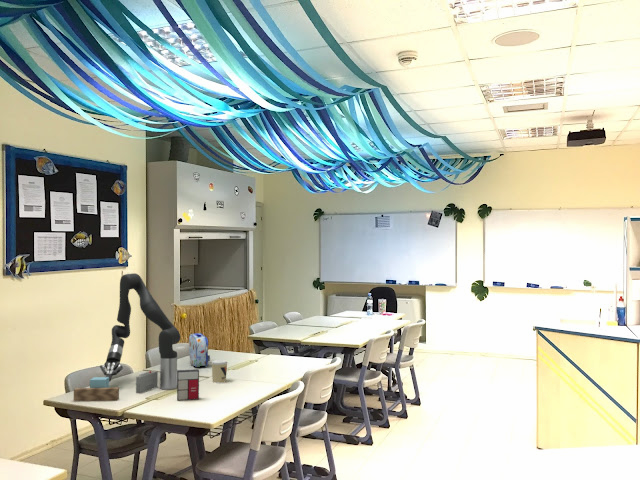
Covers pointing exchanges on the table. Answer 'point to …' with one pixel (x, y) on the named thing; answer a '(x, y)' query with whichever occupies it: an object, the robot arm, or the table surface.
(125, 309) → the robot arm
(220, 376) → the coffee cup
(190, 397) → the gray and red box
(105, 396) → the wall
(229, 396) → the table surface
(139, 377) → the cassette player
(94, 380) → the sliding block
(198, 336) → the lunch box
